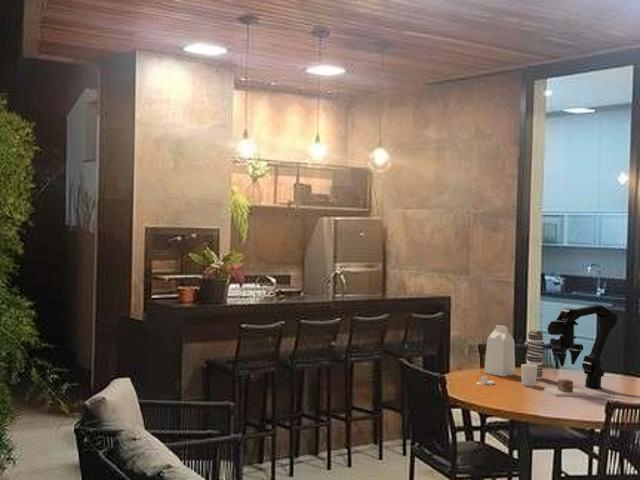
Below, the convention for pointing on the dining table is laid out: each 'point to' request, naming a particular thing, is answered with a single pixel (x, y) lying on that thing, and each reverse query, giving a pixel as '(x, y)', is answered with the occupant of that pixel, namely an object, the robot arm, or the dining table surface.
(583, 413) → the dining table surface
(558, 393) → the plate
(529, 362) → the decorative candle
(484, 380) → the teacup and saucer
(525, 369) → the white cup
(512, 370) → the milk
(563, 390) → the walnut block
